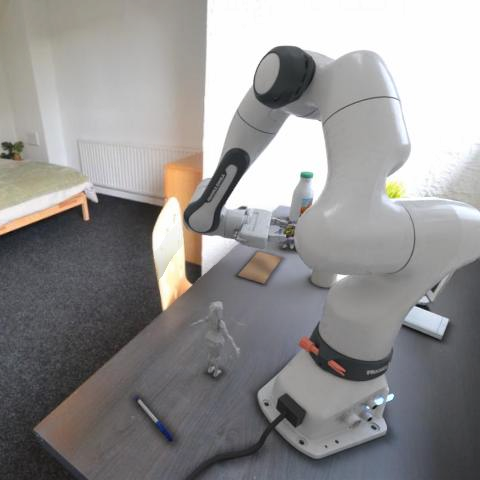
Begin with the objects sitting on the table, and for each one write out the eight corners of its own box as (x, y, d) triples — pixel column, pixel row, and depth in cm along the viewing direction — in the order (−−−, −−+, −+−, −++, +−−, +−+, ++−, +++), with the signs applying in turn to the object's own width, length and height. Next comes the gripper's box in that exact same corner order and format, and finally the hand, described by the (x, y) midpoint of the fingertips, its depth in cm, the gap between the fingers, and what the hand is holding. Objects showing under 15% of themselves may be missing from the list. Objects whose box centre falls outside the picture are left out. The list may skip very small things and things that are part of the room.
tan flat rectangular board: (263, 284, 97) (263, 283, 97) (237, 276, 101) (237, 275, 101) (281, 258, 110) (281, 257, 110) (258, 252, 114) (258, 251, 114)
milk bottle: (290, 223, 134) (298, 175, 125) (287, 216, 141) (294, 169, 132) (310, 224, 133) (320, 175, 124) (306, 217, 140) (315, 170, 131)
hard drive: (380, 310, 83) (443, 335, 75) (390, 296, 88) (449, 317, 80) (379, 315, 84) (440, 340, 76) (388, 301, 89) (447, 323, 81)
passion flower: (282, 261, 119) (266, 232, 118) (300, 247, 124) (284, 219, 123) (308, 256, 109) (291, 224, 108) (326, 241, 114) (309, 210, 113)
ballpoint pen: (174, 439, 57) (174, 435, 56) (170, 442, 56) (170, 438, 56) (137, 398, 64) (137, 394, 63) (134, 401, 63) (133, 397, 63)
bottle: (324, 290, 94) (338, 232, 86) (306, 279, 99) (317, 223, 91) (339, 283, 96) (354, 227, 88) (320, 273, 101) (333, 218, 93)
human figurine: (242, 385, 66) (251, 313, 58) (231, 397, 63) (239, 324, 55) (195, 353, 73) (198, 286, 65) (184, 363, 71) (185, 294, 63)
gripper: (232, 229, 89) (286, 236, 85) (243, 203, 106) (289, 208, 102) (230, 250, 92) (283, 258, 88) (241, 221, 109) (285, 227, 105)
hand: (286, 231), depth 95 cm, fingers open, 8 cm apart
